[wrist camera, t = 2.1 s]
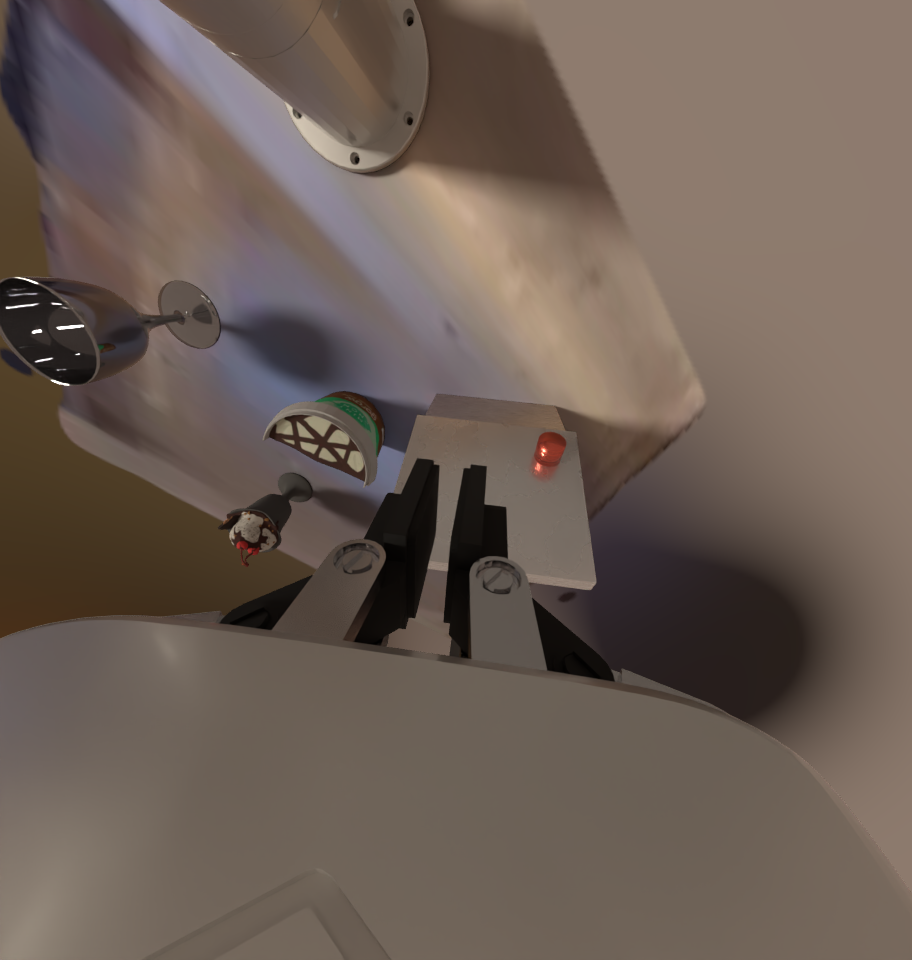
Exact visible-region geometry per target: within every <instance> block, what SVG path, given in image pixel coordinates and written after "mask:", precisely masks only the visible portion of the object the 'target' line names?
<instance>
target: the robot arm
mask: <svg viewBox="0 0 912 960" xmlns="http://www.w3.org/2000/svg"><path fill="white" fill-rule="evenodd" d="M159 1H160V2H162V3H163V4H164V5H165V6H167V7H168V8H169V9H171V10H172V11H173V12H175V13H176V14H177V15H178V16H180V17H181V18H182V19H183V20H185V21H186V22H187V23H188V24H190V25H191V26H192V27H193V28H195V29H196V30H197V31H198V32H200V33H201V34H202V35H203V36H205V37H206V38H207V39H209V40H210V41H211V42H212V43H213V44H214V45H216V46H217V47H218V48H219V49H221V50H222V51H223V52H224V53H226V54H227V55H228V56H229V57H231V58H232V59H233V60H234V61H235V62H237V63H238V64H239V65H240V66H242V67H243V68H244V69H245V70H247V71H248V72H249V73H250V74H252V75H253V76H254V77H255V78H257V79H258V80H259V81H260V82H261V83H263V84H264V85H265V86H266V87H268V88H269V89H270V90H271V91H273V92H274V93H275V94H276V95H278V96H279V97H280V98H281V99H283V100H284V104H285V106H286V108H287V110H288V112H289V115H290V117H291V119H292V121H293V123H294V124H295V126H296V128H297V129H298V131H299V132H300V134H301V135H302V137H303V138H304V139H305V140H306V142H307V143H308V144H309V145H310V146H311V147H312V148H313V150H314V151H316V152H317V153H318V154H319V155H321V156H322V157H323V158H324V159H326V160H327V161H329V162H330V163H332V164H333V165H335V166H337V167H339V168H342V169H344V170H347V171H350V172H358V173H367V172H375V171H378V170H380V169H383V168H385V167H387V166H389V165H390V164H392V163H393V162H394V161H396V160H397V159H398V158H399V157H400V156H401V155H402V154H403V153H404V152H405V151H406V150H407V148H408V147H409V146H410V144H411V142H412V141H413V139H414V137H415V136H416V134H417V132H418V129H419V127H420V124H421V122H422V119H423V117H424V112H425V108H426V104H427V99H428V91H429V79H430V72H429V54H428V48H427V42H426V36H425V32H424V29H423V25H422V22H421V18H420V15H419V12H418V10H417V7H416V5H415V2H414V0H159ZM411 20H412V21H414V23H413V24H412V26H409V27H408V23H409V21H411ZM300 114H301V115H302V117H300ZM409 119H413V123H412V125H408V120H409ZM357 158H360V161H359V163H358V164H356V159H357ZM439 470H440V466H439V465H436V464H434V460H429V459H421V458H417V459H416V461H415V464H414V466H413V468H412V470H411V473H410V475H409V477H408V479H407V481H406V484H405V486H404V488H403V490H402V493H401V494H396V493H388V494H387V495H386V497H385V499H384V501H383V502H382V504H381V506H380V508H379V510H378V512H377V514H376V516H375V518H374V520H373V522H372V524H371V526H370V528H369V530H368V532H367V534H366V535H365V537H364V539H356V540H350V541H347V542H344V543H342V544H340V545H338V546H337V547H335V548H334V549H333V550H332V551H331V552H330V553H329V555H328V556H327V557H326V559H325V560H324V561H323V563H322V564H321V565H320V567H319V568H318V569H317V571H316V572H315V573H314V575H311V576H309V577H307V578H304V579H302V580H300V581H297V582H295V583H293V584H290V585H288V586H285V587H283V588H280V589H278V590H276V591H273V592H271V593H269V594H266V595H264V596H261V597H259V598H257V599H254V600H252V601H250V602H247V603H245V604H243V605H241V606H239V607H237V608H236V609H233V610H232V611H231V612H229V613H228V614H227V615H225V616H222V613H221V611H216V612H207V613H197V614H187V615H177V616H167V617H151V616H119V615H116V616H103V617H88V618H79V619H73V620H67V621H61V622H55V623H50V624H46V625H42V626H38V627H34V628H30V629H27V630H23V631H20V632H17V633H13V634H10V635H8V636H6V637H3V638H1V639H0V960H912V893H911V891H910V890H909V888H908V887H907V886H906V884H905V883H904V881H903V880H902V879H901V877H900V876H899V874H898V873H897V871H896V870H895V868H894V867H893V866H892V864H891V863H890V862H889V860H888V859H887V857H886V856H885V854H884V853H883V852H882V850H881V849H880V848H879V847H878V845H877V844H876V842H875V841H874V840H873V838H872V837H871V836H870V834H869V833H868V832H867V830H866V829H865V828H864V826H863V825H862V824H861V822H860V821H859V820H858V818H857V817H856V816H855V814H854V813H853V812H852V811H851V809H850V808H849V807H848V806H847V805H846V803H845V802H844V801H843V800H842V799H841V797H840V796H839V795H838V794H837V793H836V792H835V790H834V789H833V788H832V787H831V786H830V785H829V784H828V783H827V782H826V780H825V779H824V778H823V777H822V776H821V775H820V774H819V773H818V772H817V771H816V770H815V769H814V768H812V766H811V765H810V764H808V763H807V762H806V761H804V759H802V758H801V757H800V756H799V755H797V754H796V753H795V752H794V751H792V750H791V749H789V748H788V747H786V746H785V745H783V744H782V743H780V742H779V741H777V740H776V739H774V738H772V737H771V736H769V735H767V734H766V733H764V732H762V731H760V730H759V729H757V728H755V727H753V726H751V725H749V724H747V723H745V722H743V721H741V720H739V719H737V718H735V717H733V716H731V715H729V714H727V713H726V712H725V711H723V710H721V709H719V708H717V707H715V706H714V705H712V704H709V703H707V702H704V701H702V700H699V699H697V698H694V697H692V696H689V695H687V694H684V693H682V692H679V691H677V690H674V689H672V688H669V687H667V686H664V685H662V684H659V683H657V682H654V681H652V680H649V679H647V678H644V677H642V676H639V675H637V674H634V673H632V672H629V671H626V670H624V669H622V670H621V672H620V673H618V672H616V671H613V670H611V669H610V668H609V666H608V664H607V663H606V662H605V661H604V660H603V659H602V658H601V656H600V655H599V654H597V653H596V652H595V651H594V650H593V649H592V648H590V647H589V646H588V645H587V644H586V643H584V642H583V641H582V640H581V639H580V638H579V637H578V636H576V635H575V634H574V633H573V632H571V631H570V630H569V629H568V628H567V627H566V626H564V625H563V624H562V623H561V622H560V621H559V620H558V619H556V618H555V617H554V616H553V615H552V614H551V613H549V612H548V611H547V610H546V609H545V608H543V607H542V606H541V605H540V604H539V603H537V602H536V601H535V600H534V599H533V598H532V597H531V592H530V587H529V583H528V578H527V576H526V573H525V571H524V570H523V569H522V568H521V567H520V566H519V565H518V564H517V563H515V562H514V561H512V560H509V559H508V541H507V509H506V507H503V506H495V505H486V504H485V489H486V474H487V466H482V465H473V464H471V466H470V468H464V470H463V475H462V481H461V486H460V492H459V497H458V502H457V508H456V513H455V519H454V524H453V529H452V535H451V542H450V550H449V562H448V574H447V586H446V598H445V610H444V623H450V629H449V635H450V636H451V637H452V639H453V640H454V641H455V642H456V643H457V644H458V646H459V647H460V653H459V657H453V656H446V655H439V654H433V653H425V652H419V651H412V650H405V649H399V648H392V647H386V646H387V644H388V639H389V634H390V633H392V632H394V631H395V630H397V629H398V628H401V629H406V626H407V622H408V618H415V617H416V613H417V609H418V605H419V601H420V597H421V593H422V589H423V585H424V581H425V577H426V573H427V568H428V564H429V560H430V556H431V552H432V548H433V544H434V540H435V535H436V524H437V506H438V488H439Z"/></svg>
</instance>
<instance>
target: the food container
mask: <svg viewBox="0 0 912 960" xmlns="http://www.w3.org/2000/svg"><path fill="white" fill-rule="evenodd" d="M269 437H270V438H272V439H274V440H276V441H279V442H282V443H284V444H286V445H288V446H290V447H292V448H294V449H296V450H298V451H300V452H301V453H303V454H305V455H306V456H308V457H310V458H312V459H313V460H315V461H317V462H320V463H322V464H325V465H328V466H330V467H333V468H336V469H339V470H341V471H343V472H345V473H348V474H350V475H352V476H354V477H356V478H358V479H360V480H362V481H364V482H365V483H364V487H365V486H366V485H367V486H369V485H370V484H371V483H372V482H373V481H374V480H375V477H376V474H377V457H378V455H379V452H380V450H381V447H382V445H383V442H384V438H385V426H384V423H383V420H382V417H381V415H380V413H379V412H378V410H377V409H376V407H375V406H374V405H373V404H372V403H371V402H370V401H368V400H367V399H366V398H364V397H363V396H361V395H358V394H356V393H352V392H346V391H341V392H335V393H332V394H330V395H328V396H325V397H323V398H321V399H319V400H317V401H315V402H300V403H295V404H292V405H290V406H288V407H286V408H284V409H283V410H281V411H280V412H279V413H278V414H277V415H276V416H275V417H274V419H273V420H272V421H271V423H270V424H269V426H268V427H267V429H266V431H265V434H264V437H263V440H262V441H264V440H266V439H268V438H269ZM364 487H363V488H364Z"/></svg>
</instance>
